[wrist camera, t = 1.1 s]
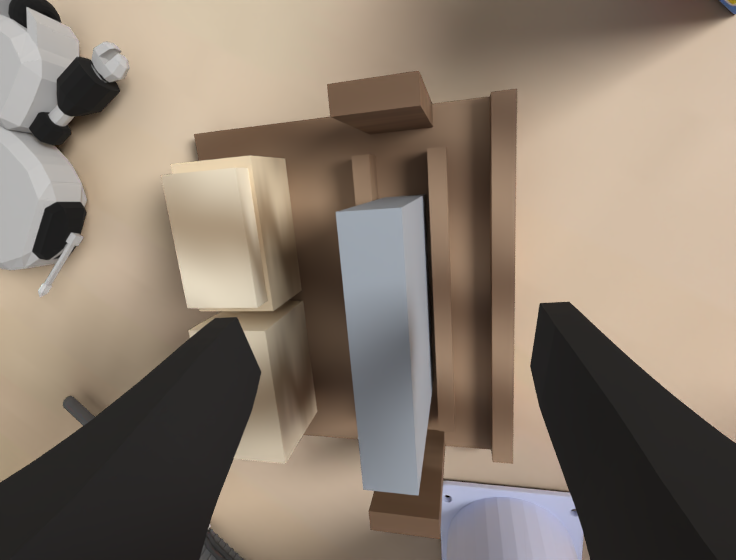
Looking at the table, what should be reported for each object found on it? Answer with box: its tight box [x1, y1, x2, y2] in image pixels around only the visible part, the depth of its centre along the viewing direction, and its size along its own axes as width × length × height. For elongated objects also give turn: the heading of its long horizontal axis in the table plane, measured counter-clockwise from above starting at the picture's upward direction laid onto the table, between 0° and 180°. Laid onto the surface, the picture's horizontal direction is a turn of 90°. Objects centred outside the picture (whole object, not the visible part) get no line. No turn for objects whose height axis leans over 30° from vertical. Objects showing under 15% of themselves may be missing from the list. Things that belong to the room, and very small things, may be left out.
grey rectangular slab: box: [336, 194, 433, 496], centre depth 16 cm, size 10×2×8 cm, turn 5°
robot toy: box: [0, 0, 130, 297], centre depth 22 cm, size 12×4×15 cm
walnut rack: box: [194, 71, 517, 539], centre depth 19 cm, size 18×16×7 cm
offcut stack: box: [160, 155, 317, 464], centre depth 20 cm, size 15×4×4 cm, turn 5°
